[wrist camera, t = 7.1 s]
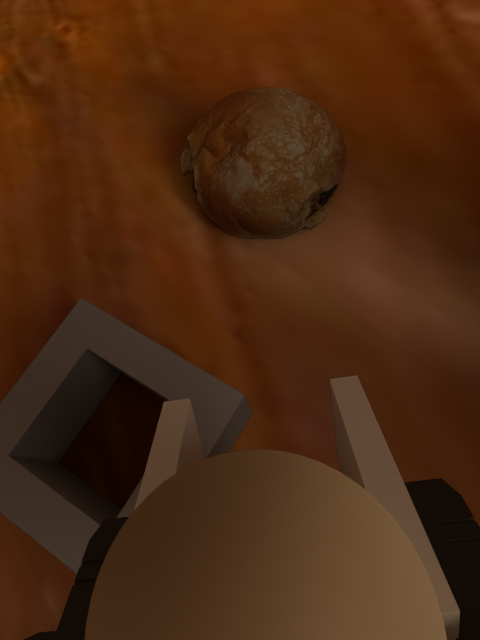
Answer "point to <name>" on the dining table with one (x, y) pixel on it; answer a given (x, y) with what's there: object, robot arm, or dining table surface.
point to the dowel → (262, 559)
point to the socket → (75, 410)
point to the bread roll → (265, 162)
